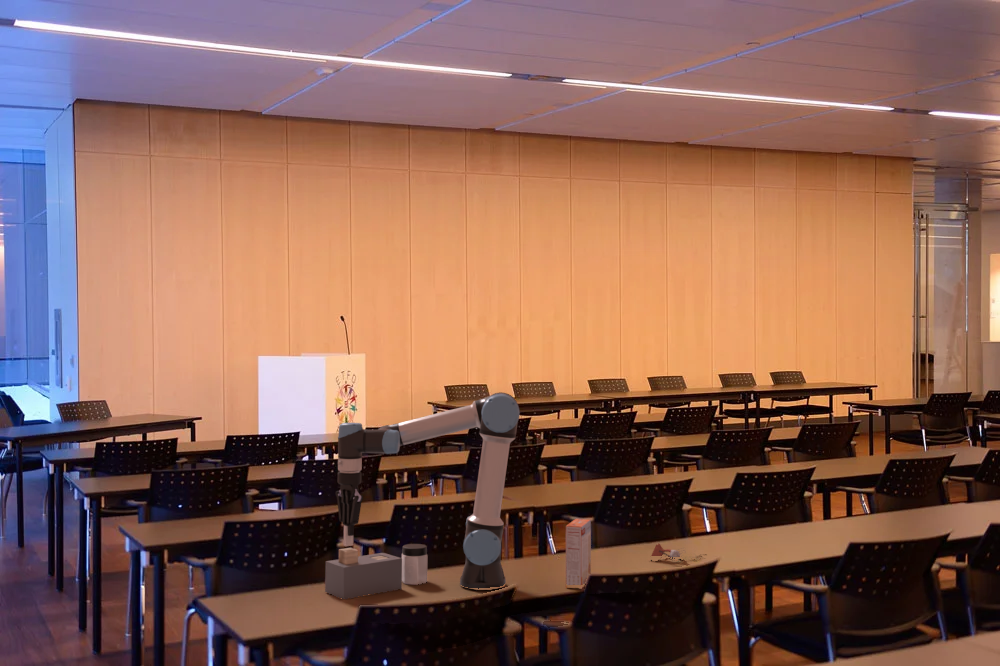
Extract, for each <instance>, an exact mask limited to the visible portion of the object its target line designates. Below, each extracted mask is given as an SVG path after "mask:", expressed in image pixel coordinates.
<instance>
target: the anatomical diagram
mask: <svg viewBox="0 0 1000 666" xmlns="http://www.w3.org/2000/svg"><path fill="white" fill-rule="evenodd" d="M657 543H658V542H657ZM654 546H655V547H654V549H653V551H652V553H651V556H662V555H663V556H664V555H665V557H666V556H668V557H670V558H671V557H672V559H673V557H680V556H682V555H681V554H682V553H681V550H682V552H685V550H684V547H683V548H681V550H680V549H670V548H667V549H664V547H663V546H662V545H661V543H660V542H659V543H658V544H655V545H654ZM666 552H668V553H669V554H667V553H666ZM651 556H650V557H651ZM672 559H671V560H672ZM674 559H675V558H674Z"/></svg>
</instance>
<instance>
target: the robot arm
mask: <svg viewBox="0 0 1000 666" xmlns="http://www.w3.org/2000/svg"><path fill="white" fill-rule="evenodd" d="M520 412H521V411H520V407H519V404H518V402H517V400H516V399H515V398H514V397H513V396H512V395H511V394H509V393H507V392H501V391H500V392H495V393H492V394H490V395H489V396H486V397H483V398H480V399H477V400H473V402H472V404H470V405H469V404H468V405H465V406H461V407H456V408H454V409H449V410H446V411H441V412H437V413H433V414H429V415H425V416H422V417H417V418H414V419H409V420H405V421H401V422H398V423H393V424H386V425H383V426H380V427H378V429H364V427H363V424H362V423H360V422H342V423H340V424H339V426H338V436H337V470H338V472H337V483H338V485H340V487H339V490H336V491H335V497H336V502H337V508H338V511H337V512H338V520H339V522H340V523H342V525H343V546H344V547H349V546H354V534H355V533H354V532H355V525H358V524H359V521H360V516H361V515H360V514H361V508H362V502H363V499H364V495H363V494H360V493H359V492H360V491H359V485H360V484H361V483H362V472H361V471H362V467H363V464H362V459H363V456H362V455H363V454H386V455H389V454H397V453H399V452H400V447H402V446H405V445H409V444H414V443H418V442H421V441H425V440H426V441H427V440H430V439H433V438H437V437H441V436H445V435H449V434H454V433H457V432H461V431H462V432H463V431H465V430H470V429H475V428H478V429H479V433H478V434H479V435H480V437H481V438H482V445H481V446H482V447H481V451H480V452H481V454H480V460H479V466H478V467H479V469H478V475H477V483H476V491H475V496H474V505H473V513H472V514H471V515H470V516H469V515H468V516H467V518H466V522H465V535H464V539H463V544H462V547H463V548H462V549H463V553H464V554H465V564H464V566H463V570H462V572H461V576H460V579H459V580H460V581H459V586H460V585H462V586H464V587H468V588H478V589H479V588H490V587H500V586H503V585H504V584H505V583H506V576H505V573H504V569H503V567H502V566H503V565H502V563H501V562H502V561H501V557H502V556H501V555H502V539H503V532H504V525H505V524H504V521H503V520H502V519H501V510H502V505H503V504H502V503H503V496H504V489H505V482H506V474H507V466H508V459H509V453H510V444H511V443H512V442H513V441H514V440H516V438H517V437H516V435H517V430H518V429H517V428H518V423H519V422H518V421H519V419H520ZM506 584H507V583H506Z"/></svg>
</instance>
